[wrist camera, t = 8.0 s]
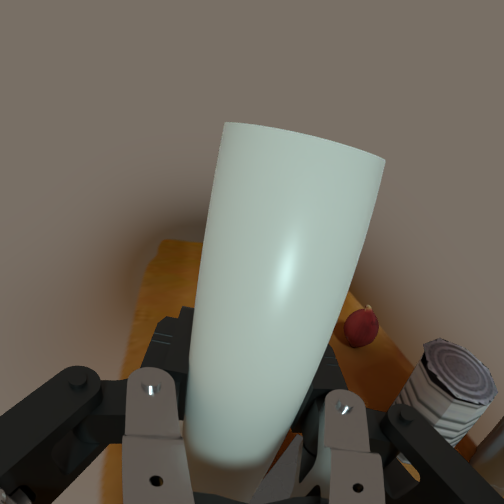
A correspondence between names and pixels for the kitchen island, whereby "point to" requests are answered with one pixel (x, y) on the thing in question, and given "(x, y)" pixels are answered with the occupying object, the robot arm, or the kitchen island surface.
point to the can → (448, 389)
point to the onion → (361, 327)
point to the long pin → (268, 294)
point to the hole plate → (279, 477)
